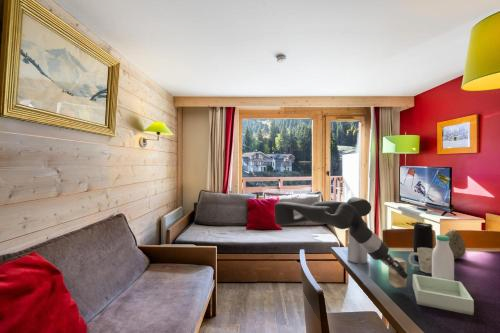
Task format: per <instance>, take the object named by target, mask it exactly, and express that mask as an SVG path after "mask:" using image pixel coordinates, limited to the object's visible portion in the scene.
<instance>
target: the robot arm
mask: <svg viewBox="0 0 500 333" xmlns="http://www.w3.org/2000/svg"><path fill="white" fill-rule="evenodd" d="M273 210H274V211H273V212H274V223H275V224H276V225H277V226H289V225H290V226H291V225H296V224H300V223H307V222H313V223H316V224H317V223H318V224H327V225H330V226H332V227H334V228H336V229H339V230H345V229H347V230H348V232H347V240H348V241H347V261H348V262H350V263H354V264H366V263H368V255H369V256H370V257H371V258H372V259H373V260H375V261H381V262H382V263H383V264H384V265H385V266H386V267H388V268H389V267H390V268H391V269H394V270H395V271H396V272H397V273H399V274H400V275H401V277H402V278H404V279H406V280H407V279H408V277H409V274H408V273H407V271H406V272H405V271H404V270H405V269H404V268H403V267H402V266H401V265H400V264H399V262H398V261H396V260H395V259H394V258H395V257H393V255H391V254H390V253H389V250H390V249H389V248H390V247H389V246H388V245H387V244H386V243H385V242H384V241H383V240H382V238H380V237H379V236H378V235H377V234H376V233H375V232H373V231H372V230H371V229H370V228H369V227H368V224H367V222H366V221H365V220H364V219H363V217H365V216H367V215H369V214H370V212H371V210H372V204H371V203H370V202H369V201H368V200H366V199H365V198H360V197H350V198H349V199H348V200H347V202H345V201H333V200H331V201H329V200H325V201H316V202H313V203H312V204H310V205H309V204H303V203H298V202H294V201H293V202H291V201H278V202H276V203H274V207H273ZM294 211H295V212H297V213H298V214H296V215H294V214H295V212H294ZM391 265H392V266H391Z"/></svg>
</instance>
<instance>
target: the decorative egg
mask: <svg viewBox="0 0 500 333" xmlns="http://www.w3.org/2000/svg"><path fill="white" fill-rule="evenodd" d="M444 235H445V236H448V237H449V238H450V240H449V246H450V249H451V251H452V253H453V256H454V260H457V259H460V258H462V257H463V256H464V254H465V252H466V249H467V248H466V244H465V240H464V239H463V237H462V236H461V234H460V233H459V232H457V231H455V230H449V231H448V232H446V233H445V234H444Z"/></svg>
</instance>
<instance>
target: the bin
mask: <svg viewBox="0 0 500 333" xmlns="http://www.w3.org/2000/svg"><path fill="white" fill-rule="evenodd" d="M412 289H413V291H414V296H415V300H416V304H417V305H420V306H424V307H431V308H434V309H435V308H436V309H440V310H445V311H450V312H454V313H458V314H459V313H460V314H466V315H470V316H475V315H474V314H475V313H474V312H475V306H474V305H475V304H474V303H475V302H474V299H473V297H472V296H471V294H470V293H469V292H468V290H467V288H466V287H465V286H464V284H463V283H462V282H461V281H460V280H459V281H457V280H454V281H453V280H447V279H440V278H434V277H432V276H427V275H422V274H420V275H419V274H414V273H412Z"/></svg>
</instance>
